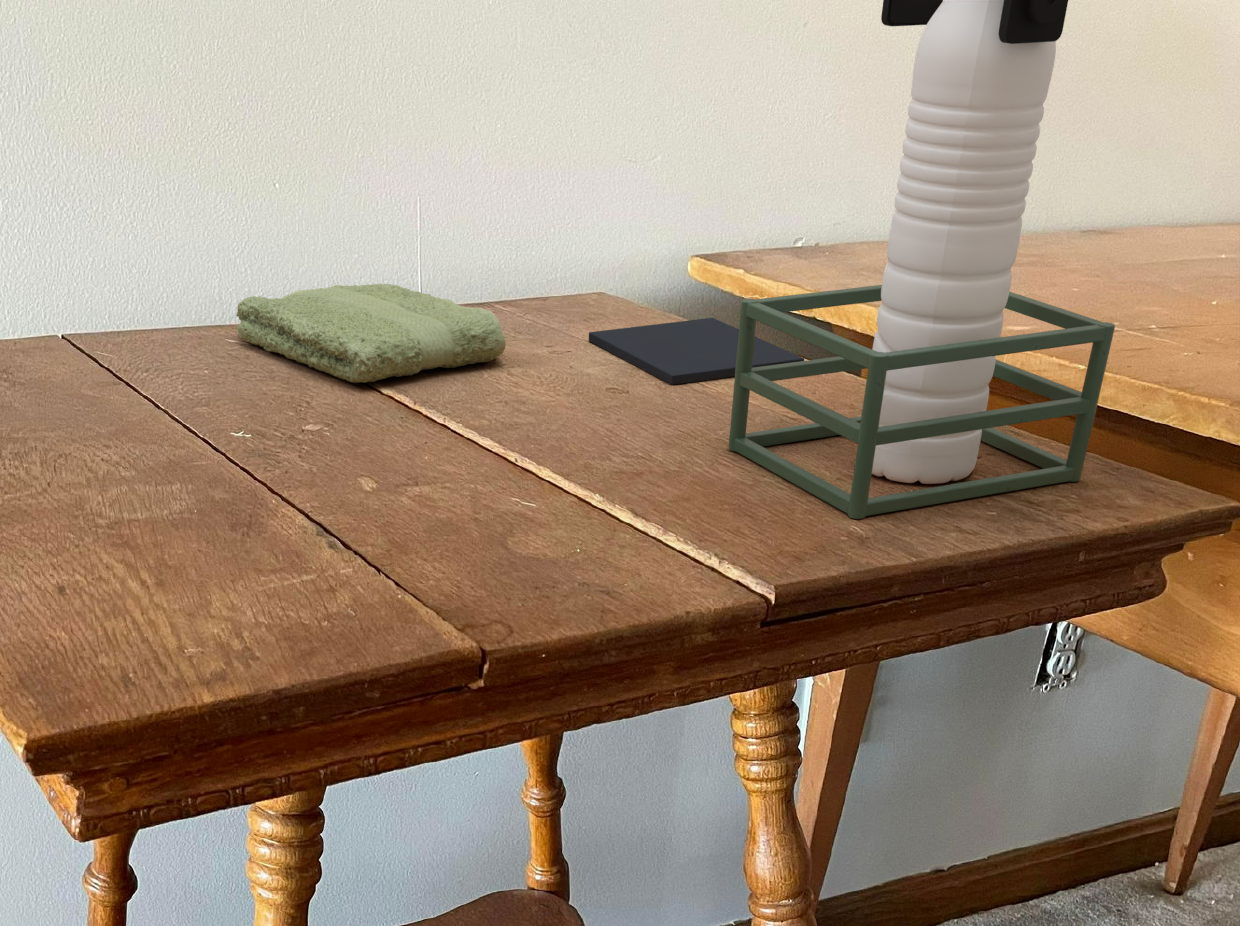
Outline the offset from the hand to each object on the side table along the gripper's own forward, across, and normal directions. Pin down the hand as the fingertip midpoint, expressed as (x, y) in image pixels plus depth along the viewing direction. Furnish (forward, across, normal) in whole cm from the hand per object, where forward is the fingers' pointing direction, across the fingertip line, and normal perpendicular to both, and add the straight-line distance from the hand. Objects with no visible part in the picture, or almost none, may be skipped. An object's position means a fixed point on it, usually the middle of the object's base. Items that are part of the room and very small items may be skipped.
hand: (966, 31), depth 73 cm
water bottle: (+21, 0, 0) cm, 21 cm away
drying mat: (+21, +25, -1) cm, 32 cm away
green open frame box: (+21, 0, 0) cm, 21 cm away
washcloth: (+21, +35, +19) cm, 45 cm away
